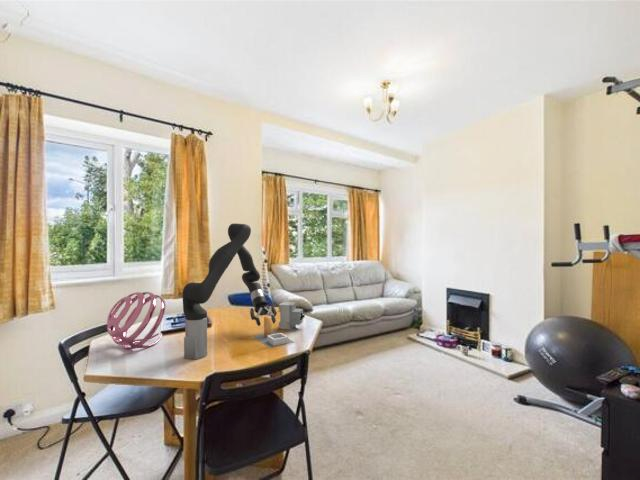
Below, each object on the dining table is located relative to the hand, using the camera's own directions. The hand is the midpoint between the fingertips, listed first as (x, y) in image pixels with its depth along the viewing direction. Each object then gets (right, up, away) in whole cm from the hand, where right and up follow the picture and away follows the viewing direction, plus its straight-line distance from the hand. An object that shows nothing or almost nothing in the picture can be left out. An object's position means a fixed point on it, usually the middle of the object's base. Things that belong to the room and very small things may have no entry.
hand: (267, 323), depth 166 cm
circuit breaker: (+12, -7, +15) cm, 21 cm away
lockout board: (+4, -7, -6) cm, 10 cm away
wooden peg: (0, -6, -1) cm, 6 cm away
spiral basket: (-63, -8, -13) cm, 65 cm away
